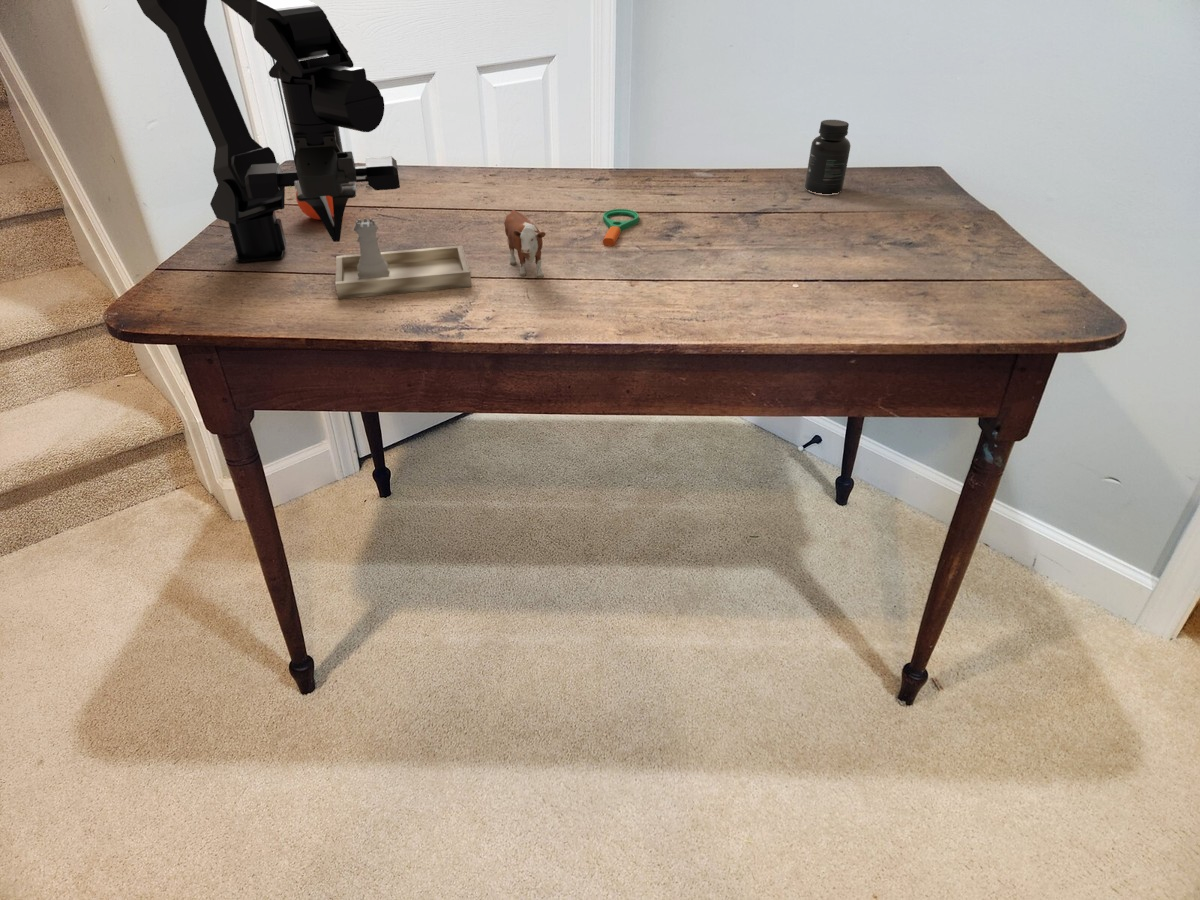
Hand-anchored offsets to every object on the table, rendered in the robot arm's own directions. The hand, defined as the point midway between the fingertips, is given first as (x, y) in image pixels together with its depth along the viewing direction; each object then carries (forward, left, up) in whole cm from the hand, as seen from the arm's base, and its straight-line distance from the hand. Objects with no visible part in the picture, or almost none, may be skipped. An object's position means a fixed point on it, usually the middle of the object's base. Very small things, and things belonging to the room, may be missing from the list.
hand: (336, 240), depth 107 cm
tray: (+8, 0, -6) cm, 10 cm away
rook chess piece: (+4, 0, -6) cm, 7 cm away
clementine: (-4, +28, -7) cm, 29 cm away
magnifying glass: (+43, +13, -7) cm, 45 cm away
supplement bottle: (+86, +23, -7) cm, 89 cm away
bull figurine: (+26, -1, -7) cm, 26 cm away
